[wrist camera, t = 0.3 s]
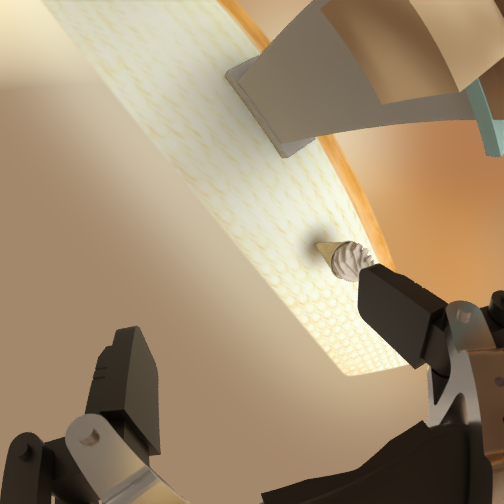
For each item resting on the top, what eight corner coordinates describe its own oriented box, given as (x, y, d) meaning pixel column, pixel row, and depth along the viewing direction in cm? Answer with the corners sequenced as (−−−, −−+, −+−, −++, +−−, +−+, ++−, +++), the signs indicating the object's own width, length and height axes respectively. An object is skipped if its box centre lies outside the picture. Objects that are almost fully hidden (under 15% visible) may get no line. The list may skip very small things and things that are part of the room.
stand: (224, 75, 31) (358, -85, 3) (254, 60, 31) (407, -72, 4) (282, 158, 36) (501, 157, 9) (308, 140, 37) (518, 125, 9)
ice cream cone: (336, 237, 42) (403, 266, 28) (320, 265, 43) (382, 305, 29) (312, 222, 40) (379, 248, 27) (296, 252, 41) (356, 291, 27)
